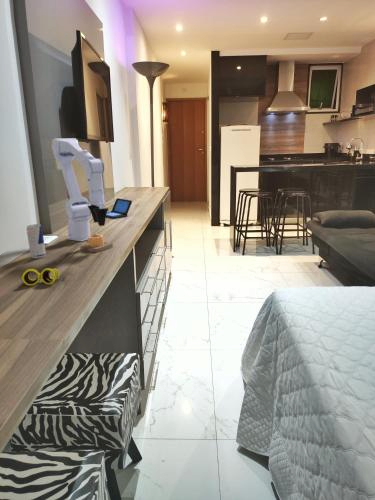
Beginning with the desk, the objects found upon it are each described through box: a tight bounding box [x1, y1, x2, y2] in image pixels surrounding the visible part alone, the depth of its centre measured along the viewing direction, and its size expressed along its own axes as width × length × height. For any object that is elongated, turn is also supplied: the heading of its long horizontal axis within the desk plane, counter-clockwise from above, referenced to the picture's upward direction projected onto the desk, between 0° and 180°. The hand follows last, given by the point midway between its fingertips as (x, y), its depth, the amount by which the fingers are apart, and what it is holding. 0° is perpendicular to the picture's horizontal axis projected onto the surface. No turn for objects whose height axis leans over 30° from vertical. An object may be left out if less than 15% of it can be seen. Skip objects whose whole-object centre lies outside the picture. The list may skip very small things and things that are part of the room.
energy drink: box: [26, 223, 47, 259], centre depth 136 cm, size 5×5×12 cm
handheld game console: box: [106, 198, 133, 220], centre depth 213 cm, size 16×13×9 cm
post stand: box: [79, 233, 114, 253], centre depth 146 cm, size 9×9×6 cm
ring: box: [88, 234, 105, 247], centre depth 146 cm, size 6×6×4 cm
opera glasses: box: [21, 267, 60, 287], centre depth 111 cm, size 10×5×5 cm, turn 96°
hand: (99, 223), depth 148 cm, fingers open, 7 cm apart
